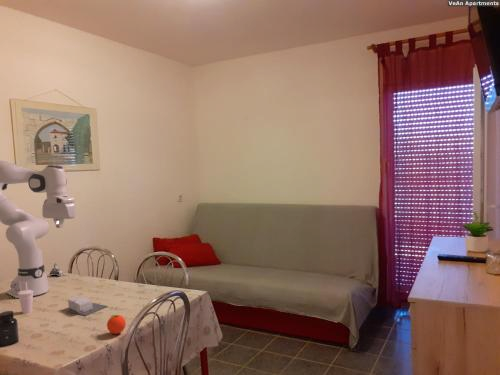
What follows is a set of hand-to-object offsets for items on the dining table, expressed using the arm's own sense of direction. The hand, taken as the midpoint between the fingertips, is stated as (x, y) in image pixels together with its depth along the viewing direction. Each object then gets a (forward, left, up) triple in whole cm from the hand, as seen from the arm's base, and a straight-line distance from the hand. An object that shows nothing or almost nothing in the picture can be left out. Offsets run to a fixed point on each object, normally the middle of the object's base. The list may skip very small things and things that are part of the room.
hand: (59, 227), depth 187 cm
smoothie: (-6, -15, -37) cm, 41 cm away
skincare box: (+9, -1, -35) cm, 36 cm away
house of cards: (-54, +35, -38) cm, 75 cm away
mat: (+17, -1, -37) cm, 41 cm away
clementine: (+51, -14, -37) cm, 64 cm away
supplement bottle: (+20, -38, -37) cm, 57 cm away
